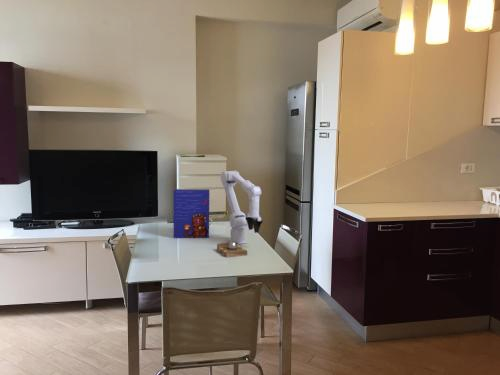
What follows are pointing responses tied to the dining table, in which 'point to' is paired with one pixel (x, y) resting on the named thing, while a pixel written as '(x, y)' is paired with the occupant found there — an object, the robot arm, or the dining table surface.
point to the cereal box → (191, 213)
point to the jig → (224, 250)
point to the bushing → (232, 245)
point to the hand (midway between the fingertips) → (253, 231)
